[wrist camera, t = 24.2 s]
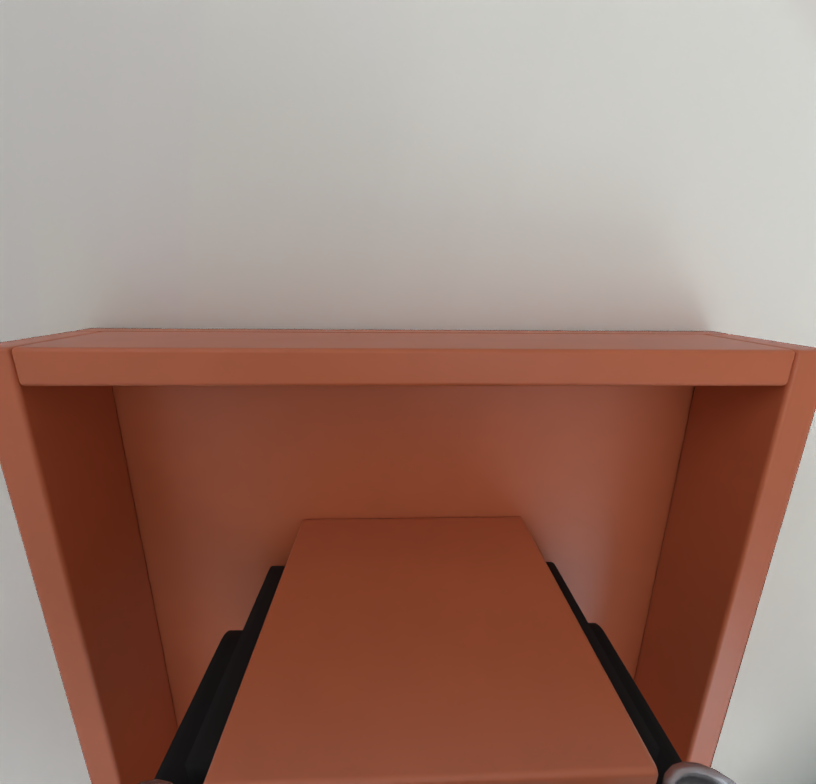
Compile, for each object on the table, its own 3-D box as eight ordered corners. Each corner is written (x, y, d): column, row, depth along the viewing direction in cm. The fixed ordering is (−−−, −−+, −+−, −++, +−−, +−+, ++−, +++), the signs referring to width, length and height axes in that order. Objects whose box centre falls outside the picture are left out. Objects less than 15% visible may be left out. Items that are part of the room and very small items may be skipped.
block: (313, 688, 10) (245, 1041, 6) (301, 518, 9) (199, 789, 4) (505, 683, 11) (599, 1020, 6) (522, 515, 9) (662, 772, 4)
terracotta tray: (180, 781, 12) (125, 911, 9) (89, 327, 8) (-36, 347, 6) (621, 765, 12) (678, 883, 10) (713, 330, 9) (835, 350, 6)
